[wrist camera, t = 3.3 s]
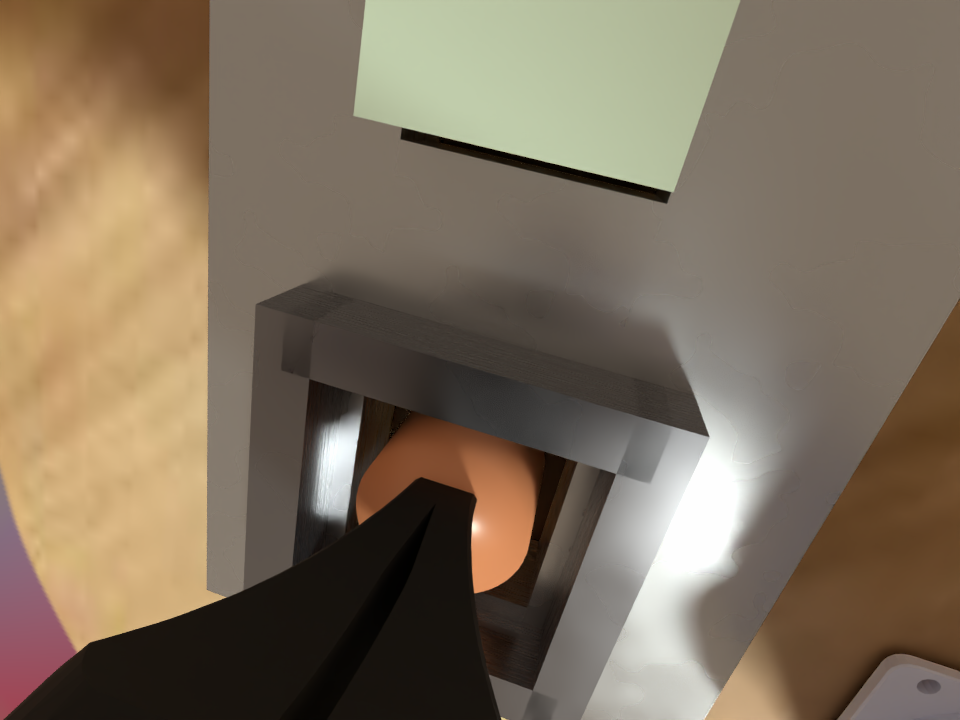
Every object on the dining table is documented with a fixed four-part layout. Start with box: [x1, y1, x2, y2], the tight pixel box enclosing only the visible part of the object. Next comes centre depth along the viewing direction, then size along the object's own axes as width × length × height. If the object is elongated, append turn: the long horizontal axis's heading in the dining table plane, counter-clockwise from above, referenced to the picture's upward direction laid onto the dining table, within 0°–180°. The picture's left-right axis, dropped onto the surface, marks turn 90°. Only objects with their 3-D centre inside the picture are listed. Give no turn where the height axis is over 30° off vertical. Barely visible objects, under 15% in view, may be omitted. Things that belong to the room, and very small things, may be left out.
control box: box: [207, 0, 960, 720], centre depth 11 cm, size 14×22×4 cm, turn 168°
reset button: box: [356, 411, 545, 593], centre depth 13 cm, size 4×4×3 cm
